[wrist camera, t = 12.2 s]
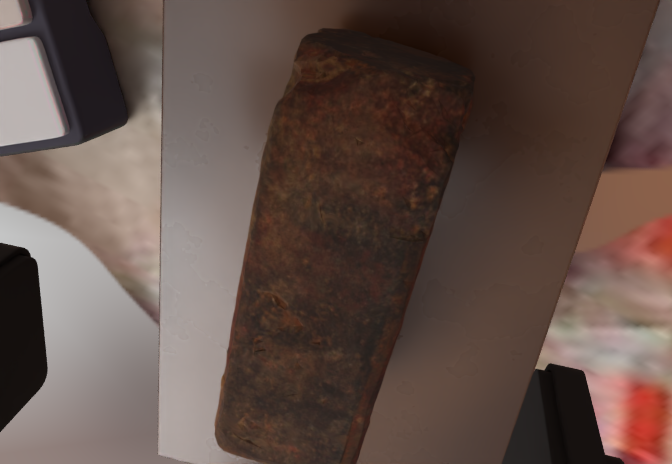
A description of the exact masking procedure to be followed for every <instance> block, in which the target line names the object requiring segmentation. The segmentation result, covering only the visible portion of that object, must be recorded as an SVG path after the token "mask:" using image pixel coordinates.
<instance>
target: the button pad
mask: <svg viewBox="0 0 672 464" xmlns="http://www.w3.org/2000/svg"><path fill="white" fill-rule="evenodd" d="M127 120H128V115H127V111H126V107H125V104H124V100H123V97H122V93H121V90H120V87H119V83H118V80H117V76H116V73H115V69H114V66H113V62H112V59H111V55H110V52H109V49H108V45H107V42H106V38H105V36H104V35H103V33H102V32H101V30H100V29H99V27H98V25H97V24H96V22H95V21H94V19H93V18H92V16H91V15H90V12H89V8H88V5H87V2H86V0H0V156H7V155H14V154H21V153H27V152H34V151H41V150H48V149H55V148H62V147H68V146H75V145H79V144H82V143H84V142H87V141H89V140H92V139H94V138H96V137H99V136H101V135H103V134H106V133H108V132H110V131H113V130H115V129H117V128H120V127H122V126H124V125H125V124H126V123H127Z"/></svg>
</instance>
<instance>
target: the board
mask: <svg viewBox="0 0 672 464" xmlns="http://www.w3.org/2000/svg"><path fill="white" fill-rule="evenodd" d="M659 3H660V0H163V56H162V138H161V220H160V302H159V386H158V390H159V391H158V455H160V456H164V457H168V458H171V459H175V460H179V461H182V462H187V463H190V464H264V463H261V462H257V461H253V460H250V459H246V458H243V457H239V456H236V455H233V454H230V453H228V452H225V451H223V450H222V449H221V448H220V447H219V446H218V444H217V441H216V438H215V425H214V423H215V418H216V413H217V409H218V404H219V397H220V390H221V386H220V384H221V379H222V376H223V374H224V371H225V367H226V357H227V350H228V347H229V340H230V332H231V325H232V319H233V314H234V310H235V304H236V297H237V291H238V286H239V280H240V275H241V270H242V265H243V258H244V253H245V248H246V242H247V237H248V232H249V226H250V220H251V214H252V208H253V203H254V198H255V194H256V190H257V185H258V181H259V176H260V167H261V160H262V155H263V151H264V147H265V144H266V141H267V134H268V129H269V126H270V123H271V119H272V116H273V113H274V110H275V106H276V105H277V103H278V101H279V100H280V99H282V98H283V94H284V91H285V88H286V85H287V83H288V81H289V79H290V77H291V74H292V68H293V63H294V58H295V54H296V52H297V50H298V47H299V45H300V42H301V40H302V38H304V37H305V36H306V35H308V34H312V33H317V32H318V30H320V29H322V28H332V29H350V30H354V31H359V32H363V33H366V34H368V35H370V36H371V37H373V38H377V37H379V38H382V39H384V40H389V41H392V42H395V43H399V44H402V45H405V46H408V47H412V48H415V49H418V50H421V51H425V52H428V53H430V54H433V55H436V56H439V57H443V58H445V59H447V60H449V61H452V62H454V63H457V64H459V65H462V66H464V67H466V68H468V69H469V70H471V71H472V72H473V74H474V76H475V81H474V94H473V105H472V109H471V112H470V115H469V119H468V122H467V126H466V128H465V129H464V131H463V132H462V134H461V135H460V143H459V148H458V151H457V153H456V156H455V160H454V164H453V167H452V171H451V174H450V178H449V181H448V184H447V187H446V189H445V192H444V195H443V199H442V201H441V204H440V207H439V210H438V212H437V215H436V218H435V222H434V227H433V231H432V234H431V237H430V239H429V242H428V245H427V248H426V250H425V254H424V257H423V261H422V264H421V268H420V271H419V273H418V275H417V278H416V282H415V285H414V288H413V292H412V295H411V298H410V301H409V304H408V307H407V309H406V312H405V316H404V320H403V325H402V329H401V331H400V333H399V335H398V338H397V340H396V343H395V346H394V349H393V352H392V355H391V358H390V360H389V363H388V366H387V369H386V372H385V375H384V378H383V382H382V385H381V388H380V391H379V393H378V396H377V399H376V401H375V404H374V408H373V411H372V415H371V417H370V424H369V427H368V430H367V432H366V434H365V438H364V441H363V444H362V447H361V451H360V454H359V458H358V461H357V463H356V464H502V461H503V458H504V455H505V453H506V450H507V447H508V444H509V441H510V438H511V435H512V432H513V429H514V426H515V424H516V421H517V418H518V415H519V412H520V409H521V406H522V403H523V400H524V398H525V395H526V392H527V389H528V386H529V383H530V380H531V377H532V375H533V372H534V370H535V367H536V364H537V361H538V358H539V355H540V353H541V350H542V347H543V344H544V341H545V338H546V335H547V332H548V329H549V326H550V323H551V320H552V317H553V314H554V311H555V308H556V306H557V303H558V300H559V297H560V294H561V291H562V288H563V285H564V282H565V279H566V276H567V273H568V270H569V267H570V264H571V261H572V258H573V256H574V253H575V250H576V246H577V244H578V241H579V238H580V235H581V232H582V229H583V226H584V223H585V220H586V217H587V214H588V211H589V208H590V206H591V202H592V199H593V197H594V194H595V191H596V188H597V185H598V182H599V179H600V176H601V173H602V170H603V167H604V164H605V161H606V158H607V156H608V153H609V150H610V147H611V144H612V141H613V138H614V135H615V132H616V129H617V126H618V123H619V120H620V117H621V114H622V111H623V109H624V106H625V103H626V100H627V97H628V94H629V91H630V88H631V85H632V82H633V79H634V76H635V73H636V70H637V67H638V64H639V61H640V59H641V56H642V53H643V50H644V47H645V44H646V41H647V38H648V35H649V32H650V29H651V26H652V23H653V20H654V17H655V14H656V11H657V9H658V6H659Z"/></svg>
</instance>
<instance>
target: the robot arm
mask: <svg viewBox="0 0 672 464" xmlns="http://www.w3.org/2000/svg"><path fill="white" fill-rule="evenodd" d="M46 376H47V357H46V347H45V337H44V327H43V316H42V306H41V296H40V287H39V275H38V266H37V262H36V260H35V259H34V258H32V257H31V256H30V253H29V251H28V250H27V249H25V248H22V247H17V246H13V245H8V244H3V243H0V432H1V431H2V429H4V427H5V426H6V425H7V424H8V423H9V422H10V421H11V420H12V419H13V418H14V416H15V415H16V414H17V413H18V412H19V411H20V410H21V409H22V408H23V407H24V406H25V405H26V403H27V402H28V401H29V400H30V399H31V398H32V397H33V396H34V395H35V394H36V393H37V392H38V390H39V389H40V388H41V387H42V385H43V383H44V382H45V379H46ZM502 464H624V462H623V461H622V460H621V459H620V458H616V457H612V456H608V455H605V453H604V449H603V445H602V441H601V437H600V433H599V429H598V425H597V421H596V417H595V413H594V409H593V405H592V401H591V397H590V393H589V389H588V385H587V381H586V377H585V374H584V372H583V371H582V370H578V369H574V368H569V367H564V366H560V365H555V364H551V363H550V364H548V365H547V367H546V369H545V371H544V370H539V369H535V371H534V372H533V375H532V377H531V380H530V383H529V386H528V389H527V392H526V395H525V398H524V400H523V403H522V406H521V409H520V412H519V415H518V418H517V421H516V424H515V426H514V429H513V432H512V435H511V438H510V441H509V444H508V447H507V450H506V453H505V455H504V458H503V461H502Z"/></svg>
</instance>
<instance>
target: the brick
mask: <svg viewBox="0 0 672 464" xmlns="http://www.w3.org/2000/svg"><path fill="white" fill-rule="evenodd" d="M474 81H475V76H474V74H473V72H472V71H471V70H469V69H468V68H466V67H464V66H462V65H459V64H457V63H454V62H452V61H449V60H447V59H445V58H443V57H439V56H436V55H433V54H430V53H428V52H425V51H421V50H418V49H415V48H412V47H408V46H405V45H402V44H399V43H395V42H392V41H389V40H384V39H382V38H379V37H377V38H373V37H371V36H370V35H368V34H366V33H363V32H359V31H354V30H350V29H332V28H322V29H320V30H318V32H317V33H312V34H308V35H306V36H305V37H304V38H302V40H301V42H300V45H299V47H298V50H297V52H296V54H295V58H294V63H293V68H292V74H291V77H290V79H289V81H288V83H287V85H286V88H285V91H284V94H283V98H282V99H280V100H279V101H278V103H277V105H276V106H275V110H274V113H273V116H272V119H271V123H270V126H269V129H268V134H267V141H266V144H265V147H264V151H263V155H262V160H261V167H260V176H259V181H258V185H257V190H256V194H255V198H254V203H253V208H252V214H251V220H250V226H249V232H248V237H247V242H246V248H245V253H244V258H243V265H242V270H241V275H240V280H239V286H238V291H237V297H236V304H235V310H234V314H233V319H232V325H231V332H230V340H229V347H228V350H227V357H226V367H225V371H224V374H223V376H222V379H221V384H220V386H221V390H220V397H219V404H218V409H217V413H216V418H215V423H214V425H215V438H216V441H217V444H218V446H219V447H220V448H221V449H222V450H223V451H225V452H228V453H230V454H233V455H236V456H239V457H243V458H246V459H250V460H253V461H257V462H261V463H264V464H356V463H357V461H358V458H359V454H360V451H361V447H362V444H363V441H364V438H365V434H366V432H367V430H368V427H369V424H370V417H371V415H372V411H373V408H374V404H375V401H376V399H377V396H378V393H379V391H380V388H381V385H382V382H383V378H384V375H385V372H386V369H387V366H388V363H389V360H390V358H391V355H392V352H393V349H394V346H395V343H396V340H397V338H398V335H399V333H400V331H401V329H402V325H403V320H404V316H405V312H406V309H407V307H408V304H409V301H410V298H411V295H412V292H413V288H414V285H415V282H416V278H417V275H418V273H419V271H420V268H421V264H422V261H423V257H424V254H425V250H426V248H427V245H428V242H429V239H430V237H431V234H432V231H433V227H434V222H435V218H436V215H437V212H438V210H439V207H440V204H441V201H442V199H443V195H444V192H445V189H446V187H447V184H448V181H449V178H450V174H451V171H452V167H453V164H454V160H455V156H456V153H457V151H458V148H459V143H460V135H461V134H462V132H463V131H464V129H465V128H466V126H467V122H468V119H469V115H470V112H471V109H472V105H473V94H474Z"/></svg>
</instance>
